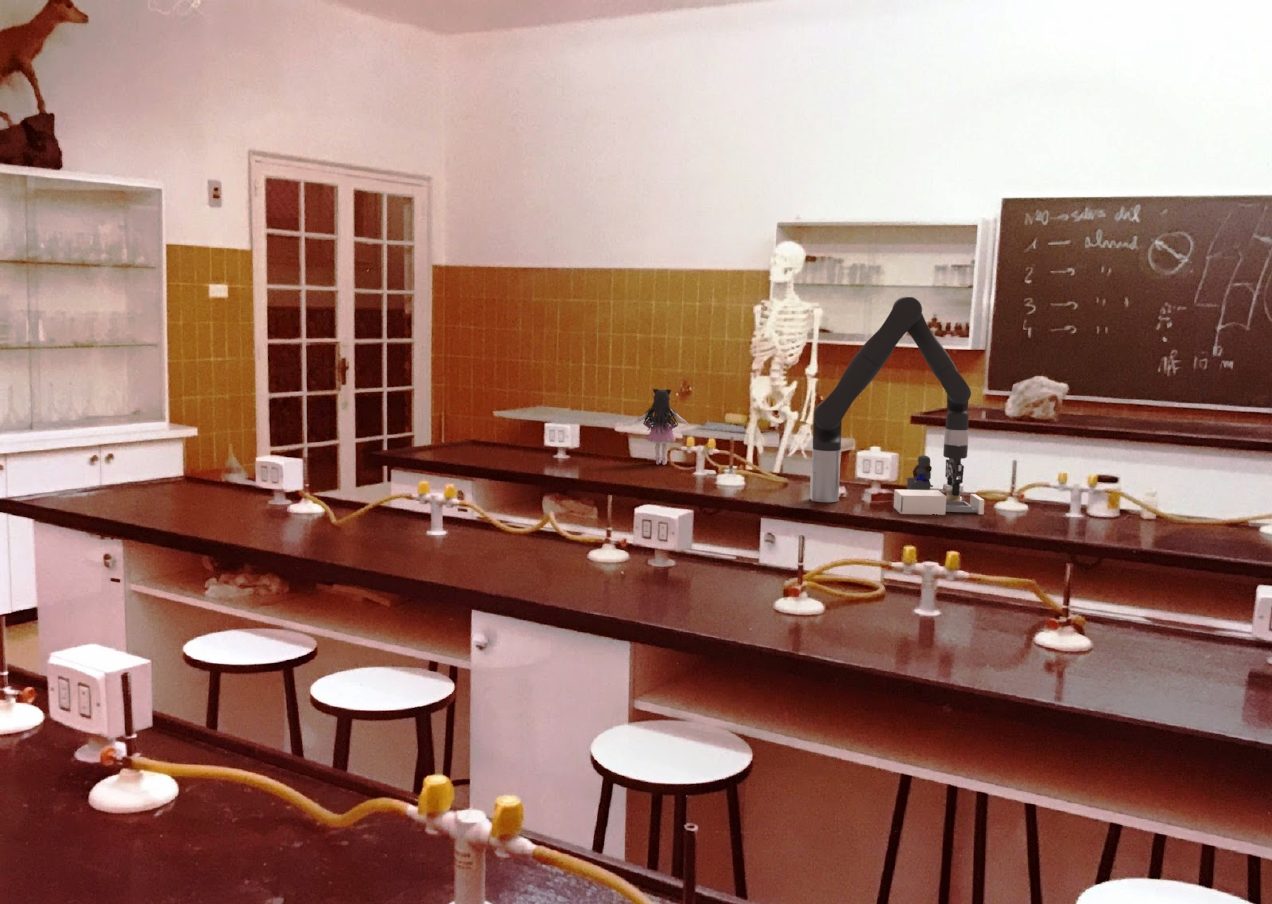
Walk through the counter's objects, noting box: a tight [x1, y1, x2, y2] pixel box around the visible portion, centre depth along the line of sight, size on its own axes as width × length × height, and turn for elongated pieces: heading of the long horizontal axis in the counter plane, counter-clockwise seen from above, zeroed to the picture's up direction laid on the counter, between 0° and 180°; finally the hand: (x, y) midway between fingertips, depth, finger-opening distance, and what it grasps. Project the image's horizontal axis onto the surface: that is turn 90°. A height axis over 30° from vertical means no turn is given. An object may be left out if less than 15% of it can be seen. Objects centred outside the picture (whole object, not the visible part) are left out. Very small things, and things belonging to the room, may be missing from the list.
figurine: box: [633, 388, 690, 466], centre depth 452 cm, size 22×10×30 cm, turn 77°
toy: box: [905, 455, 934, 490], centre depth 384 cm, size 11×10×15 cm
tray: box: [945, 493, 985, 515], centre depth 364 cm, size 16×11×5 cm, turn 89°
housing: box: [893, 489, 946, 516], centre depth 364 cm, size 14×11×6 cm
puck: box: [942, 483, 964, 493], centre depth 373 cm, size 6×6×2 cm
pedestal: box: [945, 491, 961, 501], centre depth 373 cm, size 4×4×5 cm
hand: (952, 493), depth 373 cm, fingers closed on puck, 6 cm apart
